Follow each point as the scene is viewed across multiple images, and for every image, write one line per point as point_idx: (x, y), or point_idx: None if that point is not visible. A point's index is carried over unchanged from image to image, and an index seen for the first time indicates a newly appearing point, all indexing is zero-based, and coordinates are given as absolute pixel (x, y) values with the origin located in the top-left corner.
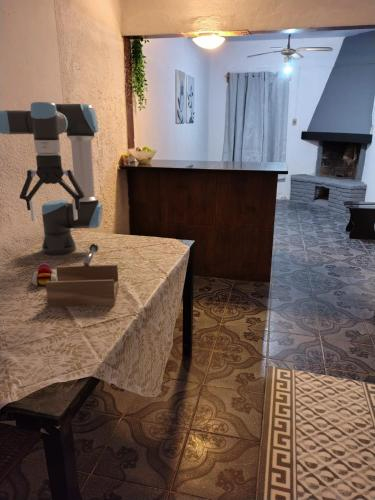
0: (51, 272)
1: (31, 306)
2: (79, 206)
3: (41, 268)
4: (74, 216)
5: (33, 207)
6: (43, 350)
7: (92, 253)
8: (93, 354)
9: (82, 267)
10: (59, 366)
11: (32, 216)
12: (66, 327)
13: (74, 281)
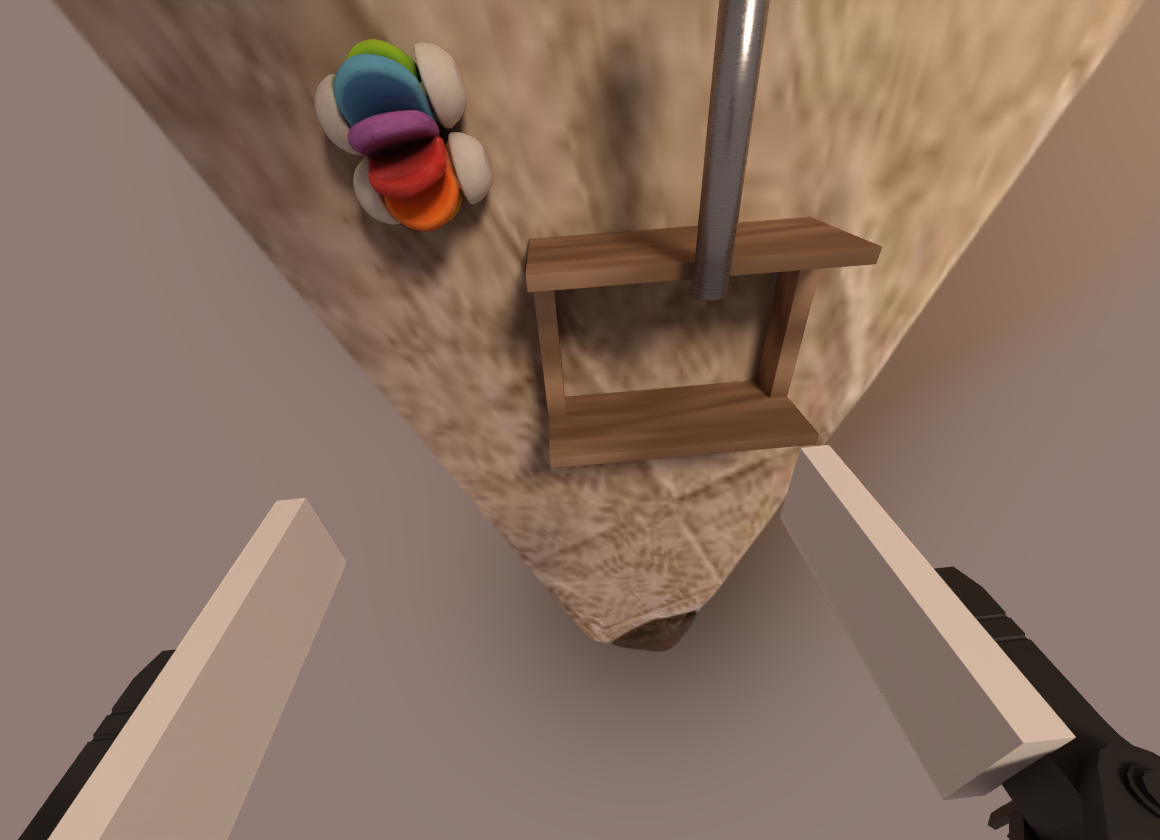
0: (431, 106)
1: (488, 402)
2: (983, 619)
3: (398, 198)
4: (808, 550)
5: (249, 709)
6: (609, 566)
7: (755, 93)
8: (707, 570)
9: (676, 278)
10: (651, 595)
11: (314, 610)
12: (637, 500)
13: (663, 456)
